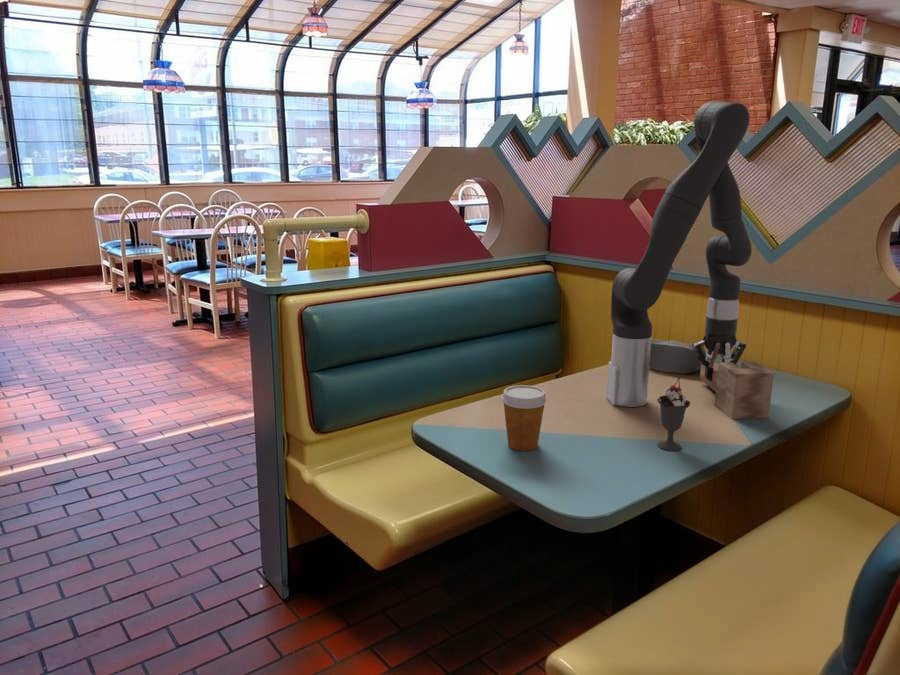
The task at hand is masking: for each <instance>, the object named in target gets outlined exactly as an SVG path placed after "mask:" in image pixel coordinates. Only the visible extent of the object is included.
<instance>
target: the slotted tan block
mask: <svg viewBox="0 0 900 675" xmlns="http://www.w3.org/2000/svg"><path fill="white" fill-rule="evenodd" d="M718 365H719V368H718V378H717V387H716V392H715V396H714V397H715V399H714V407H716V408H717V409H718V410H720V411H721V412H723V414H725V415H726V416H727V417H729V418H730V419H731V420H732V419H733V420H735V419H736V420H737V419H764V418H765V419H766V418H767V419H768V418H769V415H770V408H771V399H772V393H773V392H772V391H773V384H774V375H775V374H774V372H773V371H771V370H770V369H768V368H766V367H764V365H763V366H762V365H761V364H759V363H758V362H756V361H742V362H741V366H739V365H738V364H734V363H732V362H728V363H722V362H719V363H718Z"/></svg>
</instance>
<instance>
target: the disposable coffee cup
mask: <svg viewBox="0 0 900 675" xmlns="http://www.w3.org/2000/svg"><path fill="white" fill-rule="evenodd" d="M501 399H502V400H501V401H502V402H503V410H504V418H505V427H506V428H505V429H506V438H507V445H508V448H511V449H512V450H516V451H520V452H521V451H522V452H523V451H525V452H526V451H532V450H535V449H536V448H538V447H539V446H538V445H539V439H540V433H541V426H542V421H543V417H544V416H543V414H544V408H545V404H546V403H547V401H548V397H547V395H546V392H545V390H544V389H543V388H540V387H539V386H534V385H533V386H532V385H526V384H525V385H522V384H520V385H512V386H511V385H510V386H508V387H506V388H504V390H503V393H502V394H501Z"/></svg>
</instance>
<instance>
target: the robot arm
mask: <svg viewBox="0 0 900 675" xmlns="http://www.w3.org/2000/svg"><path fill="white" fill-rule="evenodd" d="M750 118H751V117H750V111H749V110H748V108H747V106H746V105H744V104H742V103H739V102H734V101H716V100H715V101H708V102H705V103H704V104H703V105H701V106H700V107H699V108H698V110H697V111H696V114H695V115H694V119H693V120H694V121H693V126H694V133H695V138H696V141H697V146H698V150H699V153H698V155H697V156H696V158H695V159H694V161H693V162H692V163H691V164H690V165H688V167H686V168H685V169H684V170H683V171H682V172H681V173H680V174H679V175H678V176H676V177H675V179H673V181H671V183H670V184H669V185H668V187H667V188H666V189H665V192H664V194H663V195H662V197H661V199H660V201H659V203H658V205H657V207H656V209H655V212H654V214H653V218H652V222H651V227H650V234H649V241H648V244H647V247H646V250H645V252H644V254H643V256H642V258H641V260H640V261H639V263H638V265H637V267H626V268H624V269H621V270H620V271H619V272H618V274H616V276H615V277H614V280H613V283H612V286H611V302H610V304H611V306H610V308H611V309H610V316H611V317H610V319H611V324H612V342H611V343H612V346H611V359H610V361H608V365H607V377H606V378H607V380H606V381H607V382H606V395H605V396H606V399H607V400H608V401H609V402H610V404H611V405H612V406H618V407H627V408H635V407H642V406H644V405H646V404H647V400H648V390H649V389H648V388H649V387H648V386H649V377H650V376H649V374H650V367H649V364H650V351H651V339H653V338H652V334H653V325H652V322H651V321H650V318H649V314H648V313H649V312H648V309H650V308H651V307H653V306H654V305H655V304H656V302H657V301H658V300H659V298H660V296H661V294H662V291H663V289H664V287H665V284H666V282H667V279H668V276H669V274H670V272H671V268H672V266H673V264H674V263H675V262H674V261H675V260H676V258H677V256H678V255H679V252H680V250H681V249H682V247H683V246H684V242H685V241H686V239H687V237H688V235H689V234H690V231H691V230H692V228H693V226H694V224H695V223H696V221H697V218H698V216H699V215H700V213H701V212H702V209H703V207H704V204H705V202H706V200H708V199H709V211H710V212H709V213H710V222H711V223H710V224H711V226H712V228H713V229H715V230H716V231H719V232H721V233H724V235H718V234H717V235H714V236H713V237H711V238H710V239H709V240H708V242H707V244H706V247H705V258H706V259H705V260H706V264H707V270H708V274H709V275H708V276H709V281H710V283H709V284H710V285H709V297H708V299H707V300H708V301H707V306H706V311H705V314H706V316H705V326H704V336H703V338H702V340H700V341H698V342H693V343H691V344H692V345H693V348H694V351H695V354H696V356H697V359H698V362H699V363H701V364H702V365H705V375H704V376H705V378H706V379H707V380H708V381H712V376H713V365H714V362H715V360H716V359H717V356H718V355H719V356H720V358H721V359H720V360H721V361H720V362H721V363H728V362H732V363H734V364H736V365H738V362H739V360H740V359H741V357H742V356H743V353H744V351H745V349H746V347H747V345H746V343H744V342H742V341H739V340H738V339H737V336H736V335H737V328H738V319H739V311H740V310H739V309H740V303H739V299H740V298H739V297H740V290H741V279H740V277H739V276H738V275H736V274H733V273H731V272H730V271H728V269H727V266H731V267H732V266H734V267H741V266H742V267H743V266H744V265H746V264H747V263H748V262H749V261H750V259H751V256H752V250H753V249H752V243H751V240H750V237H749V234H748V232H747V229H746V226H745V224H744V221H743V217H742V216H743V215H742V214H743V213H742V198H741V192H740V188H739V186H738V182H737V180H736V177H735V176H734V174H733V171H732V169H731V166H730V165H729V160H730V159H731V158H732V156H733V154H734V153H735V151H736V150H737V148H738V146H739V145H740V144H741V142H742V140H743V139H744V137H745V135H746V133H747V130H748V128H749V125H750ZM707 198H708V199H707ZM704 347H705V348H706V359H705V357H704V354H703V351H702V350H703V349H704ZM733 347H734V349H733ZM732 349H733V351H732V352H731V350H732ZM704 350H705V349H704Z"/></svg>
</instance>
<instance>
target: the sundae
mask: <svg viewBox="0 0 900 675" xmlns="http://www.w3.org/2000/svg"><path fill="white" fill-rule="evenodd" d="M680 379H681V377H680V376H678V377H677V381H676V383H675V384H673V385H670V387H669V388H668V389H666V390H665V391H664V393H663V395H660V396H659V398H657V400H656V401H657V402H658V404H659V405H660V406H659V407H660V408H659V410H660V421H661V426H662V427H663V428H664V430H666V431H667V438H666V440H664V441H663V440H662V441H660V442H658V443H657V447H658V448H659V447H660V449H661V448H662V449H661V450H663V449H664V450H665V451H667V450H669V451H668V452H677V450H678V451H680V450H682V445H681V444H680V443H678V442H676V441H675V440H674V433H675V432H676V431H678V430H680V429H681V428H682V425H683V422H684V418H685V413H686V409H688V408H689V407H690V406H691V402H690V401H689V400H687V399H686V397H685V394H683V393H682V388H681V385H680V381H679V380H680ZM677 384H678V386H677V387H676V385H677Z"/></svg>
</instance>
